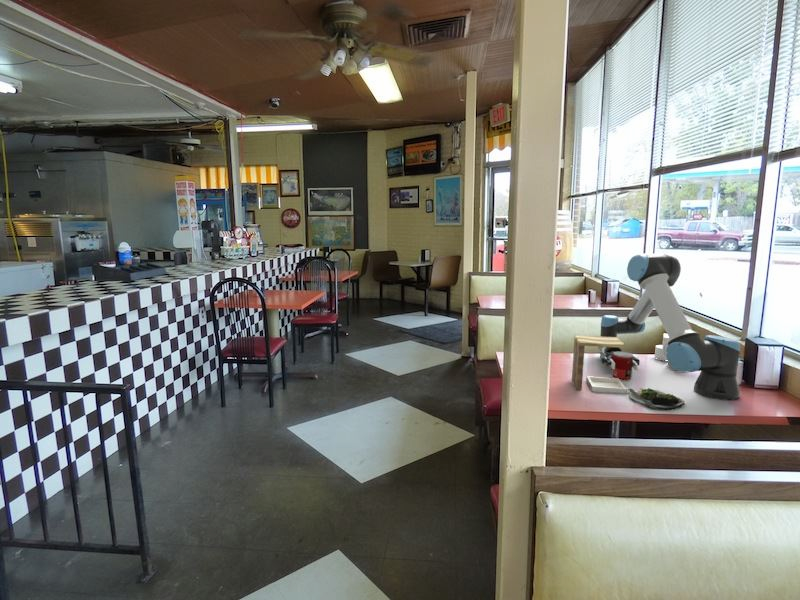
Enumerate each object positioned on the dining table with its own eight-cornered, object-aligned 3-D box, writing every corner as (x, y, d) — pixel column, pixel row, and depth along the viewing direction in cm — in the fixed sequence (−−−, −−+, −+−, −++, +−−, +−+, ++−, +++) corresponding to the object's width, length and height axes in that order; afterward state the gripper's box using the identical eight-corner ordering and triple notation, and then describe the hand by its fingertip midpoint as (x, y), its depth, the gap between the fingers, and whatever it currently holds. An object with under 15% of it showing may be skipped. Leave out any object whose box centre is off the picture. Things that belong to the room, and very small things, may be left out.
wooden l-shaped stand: (571, 380, 198) (574, 335, 195) (613, 382, 195) (617, 337, 191) (576, 389, 187) (579, 342, 183) (620, 392, 183) (624, 344, 180)
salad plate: (614, 396, 181) (614, 385, 180) (644, 389, 188) (645, 378, 188) (659, 414, 164) (660, 402, 163) (690, 405, 171) (692, 394, 170)
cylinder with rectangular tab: (675, 362, 222) (677, 338, 220) (654, 359, 227) (656, 336, 224) (675, 357, 230) (677, 334, 228) (654, 355, 234) (656, 332, 232)
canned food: (629, 381, 196) (631, 357, 194) (609, 378, 201) (611, 354, 199) (632, 377, 202) (634, 353, 200) (613, 373, 207) (615, 350, 205)
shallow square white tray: (586, 380, 198) (586, 376, 197) (618, 382, 195) (618, 378, 195) (592, 391, 185) (592, 386, 185) (626, 393, 183) (626, 388, 182)
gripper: (635, 360, 216) (651, 376, 194) (588, 358, 220) (598, 373, 198) (636, 345, 215) (652, 359, 193) (589, 343, 219) (599, 357, 197)
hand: (625, 366), depth 196 cm, fingers open, 8 cm apart
